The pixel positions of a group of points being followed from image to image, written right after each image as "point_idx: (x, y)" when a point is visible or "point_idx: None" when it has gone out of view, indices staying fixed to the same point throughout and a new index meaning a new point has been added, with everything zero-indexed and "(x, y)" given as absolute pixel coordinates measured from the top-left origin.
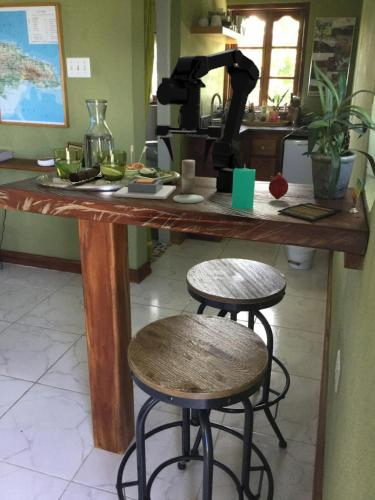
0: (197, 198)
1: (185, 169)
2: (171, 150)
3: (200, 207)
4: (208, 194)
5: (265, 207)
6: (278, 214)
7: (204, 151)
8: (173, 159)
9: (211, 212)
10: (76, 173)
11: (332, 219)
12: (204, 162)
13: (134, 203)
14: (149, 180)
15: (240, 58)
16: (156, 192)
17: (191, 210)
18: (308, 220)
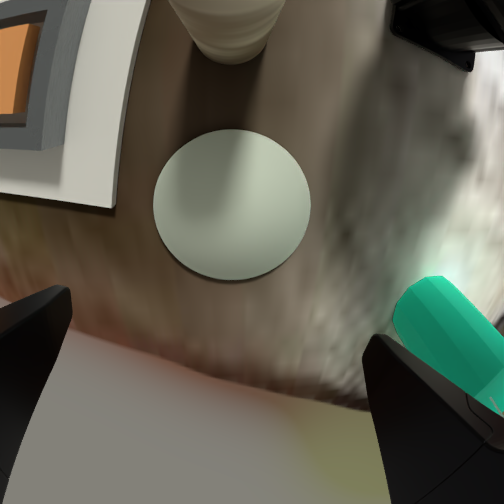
0: (276, 222)
1: (197, 26)
2: (26, 418)
3: (278, 329)
4: (344, 78)
5: (479, 304)
6: None
7: (383, 464)
8: (66, 330)
9: (307, 378)
10: None
11: None
12: (366, 362)
13: (31, 280)
14: (3, 68)
15: None
16: (62, 138)
17: (242, 364)
18: None
